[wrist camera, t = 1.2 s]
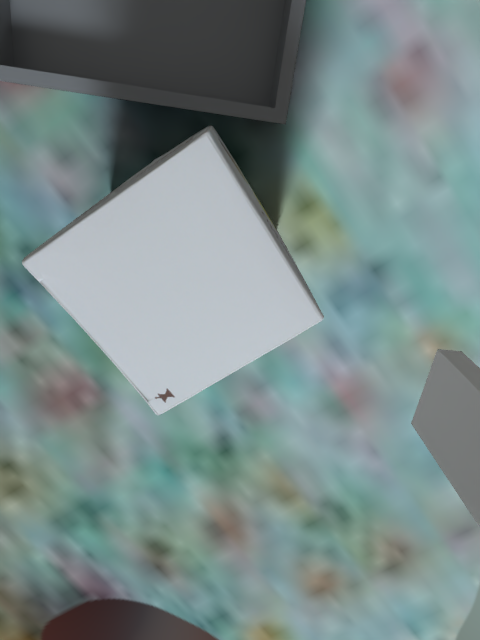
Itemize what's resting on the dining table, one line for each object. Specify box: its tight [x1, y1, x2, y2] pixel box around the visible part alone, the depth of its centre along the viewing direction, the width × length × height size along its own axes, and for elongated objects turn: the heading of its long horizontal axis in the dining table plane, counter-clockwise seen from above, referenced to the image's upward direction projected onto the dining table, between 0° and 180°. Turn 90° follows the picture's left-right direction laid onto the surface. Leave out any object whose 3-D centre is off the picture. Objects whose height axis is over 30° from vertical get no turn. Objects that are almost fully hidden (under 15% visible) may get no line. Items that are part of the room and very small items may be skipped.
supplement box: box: [22, 125, 324, 415], centre depth 26 cm, size 10×9×17 cm
